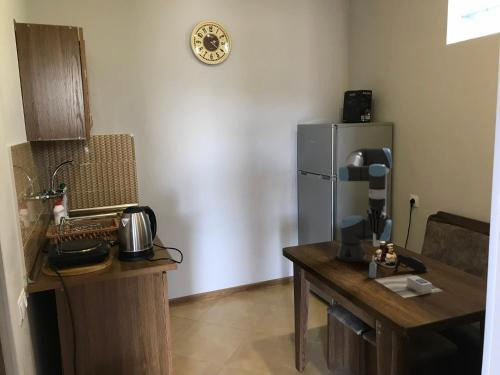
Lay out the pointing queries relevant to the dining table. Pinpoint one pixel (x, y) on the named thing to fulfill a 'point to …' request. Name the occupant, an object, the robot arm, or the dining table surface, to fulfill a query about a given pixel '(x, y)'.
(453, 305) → the dining table surface
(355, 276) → the dining table surface
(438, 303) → the dining table surface
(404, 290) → the panel
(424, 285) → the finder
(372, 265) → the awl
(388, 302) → the dining table surface
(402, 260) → the gun
